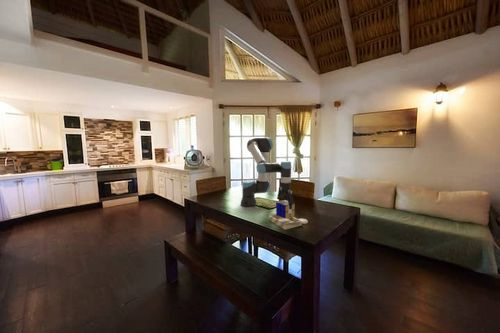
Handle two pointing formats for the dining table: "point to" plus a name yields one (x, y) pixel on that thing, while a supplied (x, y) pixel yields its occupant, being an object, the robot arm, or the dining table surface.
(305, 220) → the white round disc
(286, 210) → the puzzle cube
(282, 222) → the light wood tray
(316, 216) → the dining table surface
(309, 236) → the dining table surface
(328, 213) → the dining table surface
